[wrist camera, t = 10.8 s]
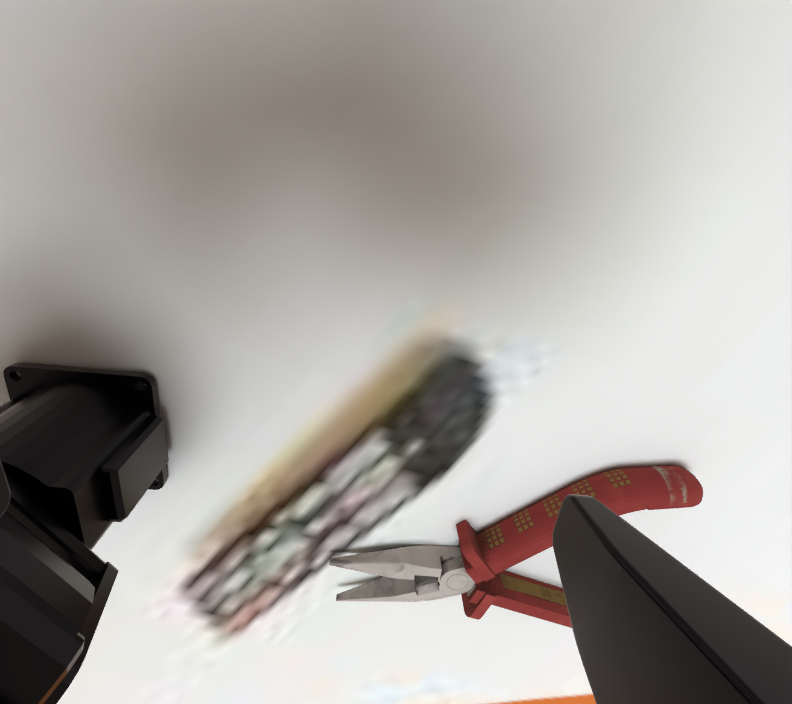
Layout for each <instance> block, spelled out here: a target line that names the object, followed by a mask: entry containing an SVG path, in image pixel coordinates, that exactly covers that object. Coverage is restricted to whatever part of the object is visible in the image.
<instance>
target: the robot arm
mask: <svg viewBox="0 0 792 704" xmlns="http://www.w3.org/2000/svg"><path fill="white" fill-rule="evenodd" d="M17 372H18V373H19V374H20V375H21V377H20V376H19V375H18V374H17ZM4 378H5V382H6V385H7V389H8V393H9V396H10V401H8V402H7V403H5V404H4V405H2V406H0V704H56V703H57V702H58V701H59V699H60V698H61V697H62V695H63V694H64V693H65V691H66V690H67V688H68V687H69V686H70V684H71V682H72V681H73V679H74V677H75V676H76V674H77V673H78V671H79V669H80V667H81V665H82V663H83V661H84V658H85V656H86V654H87V651H88V648H89V646H90V643H91V641H92V638H93V635H94V633H95V630H96V628H97V625H98V623H99V620H100V617H101V615H102V612H103V610H104V607H105V604H106V602H107V599H108V597H109V594H110V592H111V589H112V586H113V584H114V581H115V579H116V576H117V573H118V570H117V569H116V568H115V567H114V566H113V565H112V564H110V563H109V562H106V563H105V562H104V561H103V560H101V559H100V558H99V557H98V556H97V555H96V554H95V553H94V552H92V551H91V550H92V548H93V547H94V546H95V544H96V543H97V542H98V541H99V539H100V538H101V537H102V535H103V534H104V533H105V531H106V530H107V529H108V528H109V526H110V525H111V524H112V522H122V521H123V520H124V519H125V518H126V517H128V515H129V514H130V512H131V511H132V510H133V508H134V507H135V506H136V504H137V503H138V502H139V500H140V499H141V498H142V496H143V495H144V493H145V492H146V491H147V489H153V490H156V489H160V488H162V487H163V485H164V484H165V483H166V481H167V469H166V464H167V462H168V451H167V443H166V434H165V426H164V420H163V419H162V417H161V416H160V412H159V403H158V395H157V387H156V382H155V379H154V378H153V377H152V376H151V375H149V374H146V373H139V372H127V371H115V370H103V369H91V368H79V367H67V366H55V365H43V364H31V363H14V364H13V365H11V366H9V367H7V368H5V370H4ZM139 381H140V382H143V383H144V384H145V385H146V387H143V386H142V385H140V382H139ZM155 479H157V480H158V481H157V480H155ZM552 542H553V548H554V553H555V557H556V561H557V565H558V569H559V574H560V578H561V582H562V586H563V591H564V595H565V599H566V603H567V608H568V612H569V616H570V620H571V625H572V629H573V632H574V636H575V640H576V644H577V647H578V650H579V653H580V656H581V659H582V663H583V666H584V668H585V671H586V674H587V677H588V680H589V683H590V686H591V689H592V692H593V695H594V698H595V700H596V704H792V646H790V645H789V644H788V643H786V642H785V641H784V640H782V639H781V638H780V637H778V636H777V635H776V634H774V633H773V632H772V631H770V630H769V629H768V628H767V627H765V626H764V625H763V624H761V623H760V622H759V621H757V620H756V619H755V618H753V617H752V616H751V615H749V614H748V613H747V612H745V611H744V610H743V609H741V608H740V607H739V606H737V605H736V604H735V603H733V602H732V601H731V600H729V599H728V598H727V597H725V596H724V595H723V594H721V593H720V592H719V591H718V590H716V589H715V588H714V587H712V586H711V585H710V584H708V583H707V582H706V581H704V580H703V579H702V578H700V577H699V576H698V575H696V574H695V573H694V572H692V571H691V570H690V569H688V568H687V567H686V566H684V565H683V564H682V563H680V562H679V561H678V560H676V559H675V558H674V557H673V556H671V555H670V554H669V553H667V552H666V551H665V550H663V549H662V548H661V547H659V546H658V545H657V544H655V543H654V542H653V541H651V540H650V539H649V538H647V537H646V536H645V535H643V534H642V533H641V532H639V531H638V530H637V529H635V528H634V527H633V526H631V525H630V524H629V523H627V522H626V521H625V520H624V519H622V518H621V517H620V516H618V515H617V514H616V513H614V512H613V511H612V510H610V509H609V508H608V507H606V506H605V505H604V504H602V503H601V502H600V501H598V500H597V499H596V498H594V497H592V496H588V495H574V494H570V495H567V496H566V497H565V498H564V500H563V502H562V505H561V508H560V511H559V514H558V517H557V520H556V523H555V526H554V530H553V535H552Z"/></svg>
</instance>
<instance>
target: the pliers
mask: <svg viewBox="0 0 792 704" xmlns="http://www.w3.org/2000/svg"><path fill="white" fill-rule="evenodd" d="M570 494H574V495H588V496H592V497H594V498H596V499H597V500H598V501H600V502H601V503H602V504H604V505H605V506H606V507H608V508H609V509H610V510H612V511H613V512H614V513H616V514H617V515H618V516H619V515H622V514H626V513H630V512H634V511H639V510H644V509H648V510H654V509H669V508H684V507H693V506H696V505H698V504H699V503H700V502H701V501H702V497H703V488H702V486H701V484H700V483H699V481H698V480H697V479H696V477H695V476H694V475H693V474H692V473H690V472H689V471H687V470H686V469H684V468H681V467H678V466H674V465H666V466H649V467H632V468H617V469H613V470H608V471H604V472H601V473H598V474H595V475H593V476H590V477H587V478H585V479H582V480H580V481H578V482H576V483H573V484H571V485H569V486H567V487H565V488H564V489H562V490H560V491H558V492H556V493H554V494H552V495H550V496H548V497H546V498H544V499H543V500H541V501H539V502H537V503H535V504H533V505H531V506H529V507H527V508H525V509H523V510H522V511H520V512H518V513H516V514H514V515H512V516H510V517H508V518H506V519H504V520H502V521H501V522H499V523H497V524H495V525H493V526H491V527H489V528H487V529H485V530H483V531H481V532H480V533H478V534H477V533H476V532H475V530H474V529H473V528H472V527H471V526H470V524H469V523H468V522H467V521H466V520H464V521H463V522H461V523H459V524H457V525H456V528H457V532H458V537H459V543H460V547H456V546H434V545H421V546H407V547H401V548H395V549H388V550H382V551H376V552H369V553H363V554H356V555H350V556H344V557H337V558H331V559H330V565H332V566H337V567H342V568H346V569H351V570H356V571H361V572H365V573H370V574H375V575H379V576H384V577H382V578H379V579H376V580H374V581H371V582H368V583H366V584H363V585H361V586H358V587H355V588H353V589H350V590H347V591H345V592H342V593H340V594H337V598H336V601H401V602H417V601H428V600H436V599H441V598H445V597H450V596H454V595H458V594H461V595H462V601H463V606H464V612H465V614H466V616H467V617H471V618H474V619H480V618H481V617H482V616H483V615H484V613H485V612H486V611H487V609H488V608H489V607H490V605H495V606H498V607H502V608H505V609H509V610H512V611H516V612H519V613H523V614H526V615H529V616H533V617H536V618H540V619H543V620H547V621H550V622H554V623H557V624H561V625H564V626H568V627H571V628H572V625H571V620H570V616H569V612H568V608H567V603H566V599H565V595H564V591H563V589H562V588H559V587H556V586H553V585H550V584H546V583H543V582H540V581H537V580H534V579H530V578H527V577H524V576H521V575H518V574H514V573H511V572H508V571H505V569H507V568H509V567H511V566H513V565H516V564H518V563H520V562H522V561H524V560H526V559H528V558H530V557H532V556H534V555H536V554H538V553H540V552H542V551H544V550H546V549H548V548H550V547H552V546H553V542H552V535H553V530H554V526H555V523H556V520H557V517H558V514H559V511H560V508H561V505H562V502H563V500H564V498H565V497H566V496H567V495H570Z"/></svg>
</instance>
